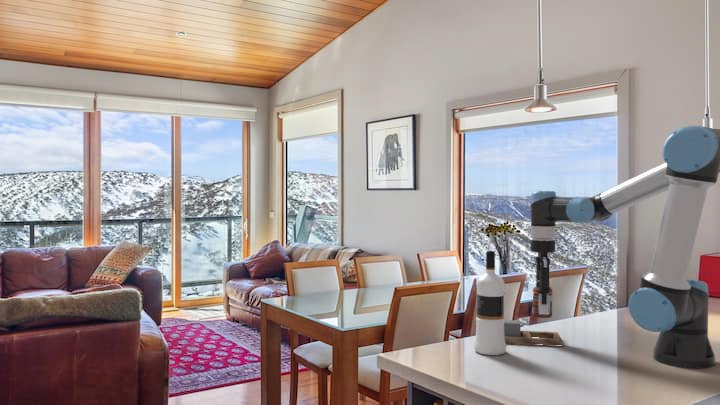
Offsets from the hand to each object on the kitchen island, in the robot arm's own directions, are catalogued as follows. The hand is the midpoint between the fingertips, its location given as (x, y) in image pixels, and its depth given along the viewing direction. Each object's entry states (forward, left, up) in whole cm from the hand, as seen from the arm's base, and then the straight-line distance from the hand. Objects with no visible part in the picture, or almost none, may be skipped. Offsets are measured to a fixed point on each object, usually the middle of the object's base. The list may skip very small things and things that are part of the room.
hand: (542, 312), depth 184 cm
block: (0, +9, -9) cm, 13 cm away
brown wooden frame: (0, +5, -9) cm, 10 cm away
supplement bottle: (0, 0, -2) cm, 2 cm away
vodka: (-16, +17, -10) cm, 25 cm away
